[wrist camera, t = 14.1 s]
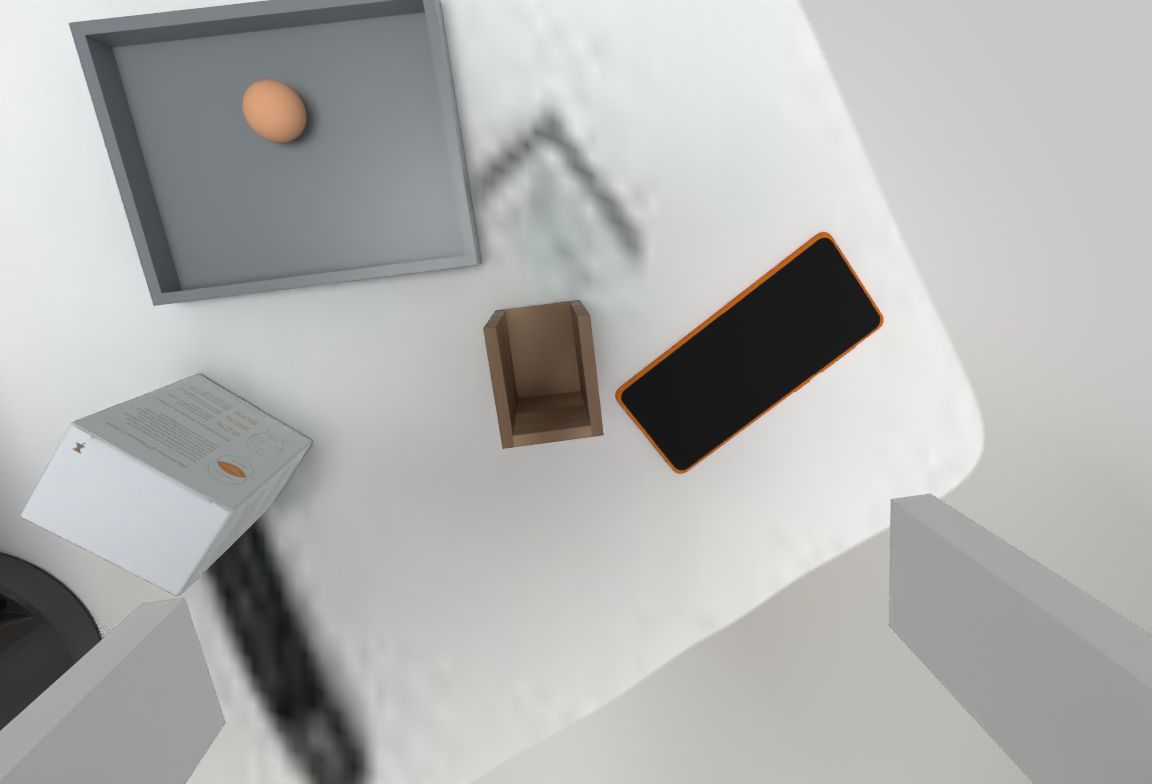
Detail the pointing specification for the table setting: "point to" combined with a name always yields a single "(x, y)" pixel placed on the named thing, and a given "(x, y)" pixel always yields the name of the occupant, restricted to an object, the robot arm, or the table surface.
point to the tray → (282, 144)
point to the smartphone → (751, 354)
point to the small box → (166, 480)
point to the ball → (274, 111)
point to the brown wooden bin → (543, 374)
